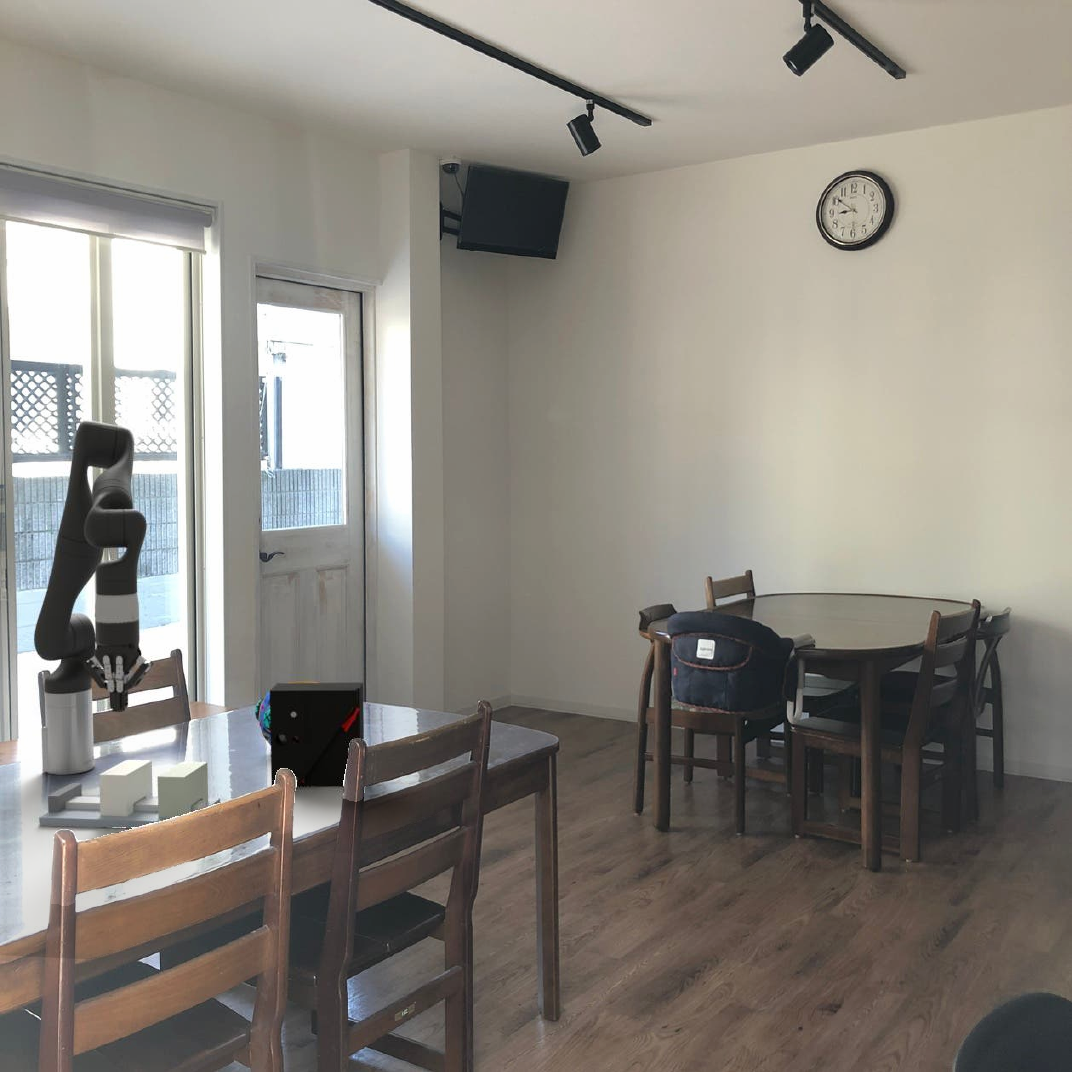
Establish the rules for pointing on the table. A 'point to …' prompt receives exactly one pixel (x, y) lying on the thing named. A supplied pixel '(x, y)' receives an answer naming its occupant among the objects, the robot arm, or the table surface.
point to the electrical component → (314, 730)
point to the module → (125, 787)
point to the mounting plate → (176, 797)
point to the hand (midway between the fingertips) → (118, 711)
